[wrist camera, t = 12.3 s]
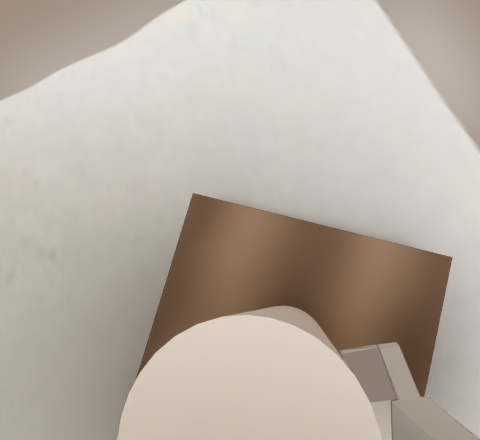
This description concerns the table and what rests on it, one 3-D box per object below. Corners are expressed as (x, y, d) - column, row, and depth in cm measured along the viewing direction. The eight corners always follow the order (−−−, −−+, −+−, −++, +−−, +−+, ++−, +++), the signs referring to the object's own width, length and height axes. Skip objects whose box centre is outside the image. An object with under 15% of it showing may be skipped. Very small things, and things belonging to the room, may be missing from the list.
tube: (261, 292, 22) (179, 275, 7) (339, 325, 21) (424, 382, 6) (229, 370, 21) (73, 520, 7) (308, 407, 20) (324, 673, 6)
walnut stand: (149, 421, 26) (115, 448, 21) (211, 211, 28) (192, 193, 23) (373, 503, 24) (391, 555, 19) (423, 265, 26) (452, 257, 21)
